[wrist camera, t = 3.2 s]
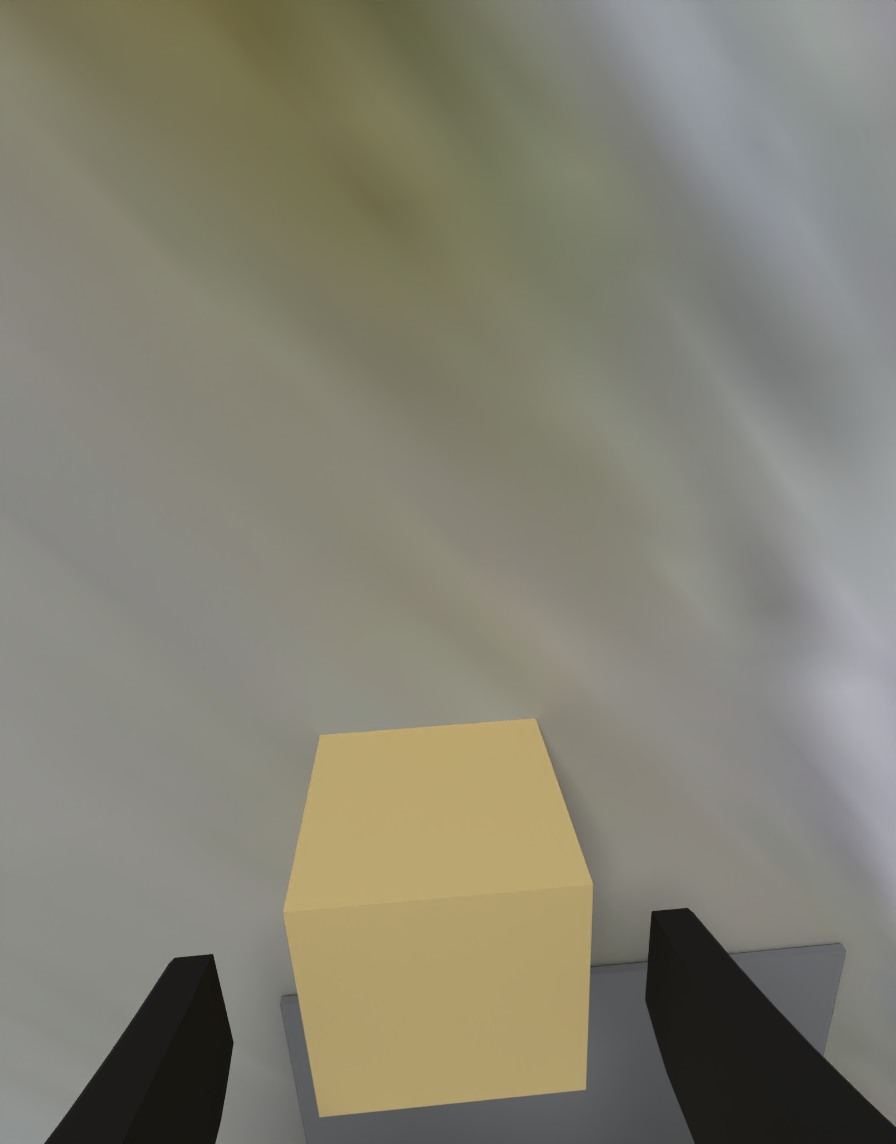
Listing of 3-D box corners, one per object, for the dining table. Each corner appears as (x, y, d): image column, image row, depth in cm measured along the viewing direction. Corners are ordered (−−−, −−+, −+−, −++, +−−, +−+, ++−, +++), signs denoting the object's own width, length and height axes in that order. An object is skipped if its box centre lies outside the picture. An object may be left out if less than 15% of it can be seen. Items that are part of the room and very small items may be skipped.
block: (535, 716, 14) (592, 884, 10) (535, 881, 15) (585, 1089, 11) (320, 733, 14) (282, 912, 9) (343, 898, 15) (319, 1117, 11)
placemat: (841, 943, 16) (846, 950, 16) (781, 1226, 21) (784, 1234, 20) (282, 996, 16) (280, 1004, 16) (334, 1277, 20) (334, 1286, 20)
